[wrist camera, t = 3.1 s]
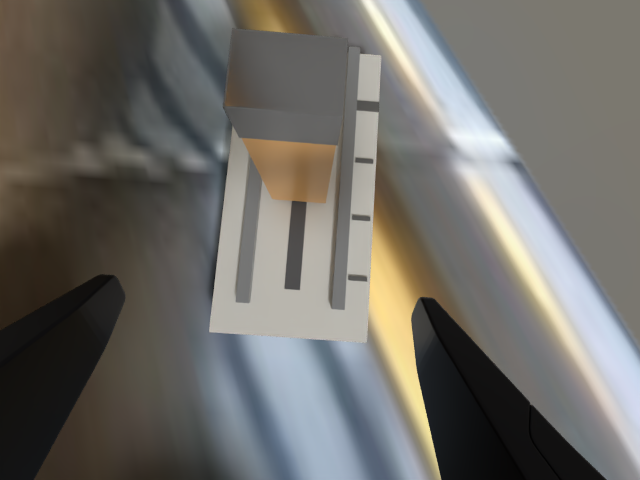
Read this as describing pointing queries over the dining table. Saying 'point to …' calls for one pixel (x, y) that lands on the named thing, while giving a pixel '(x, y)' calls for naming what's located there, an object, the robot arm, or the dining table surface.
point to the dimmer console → (303, 235)
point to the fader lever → (288, 107)
